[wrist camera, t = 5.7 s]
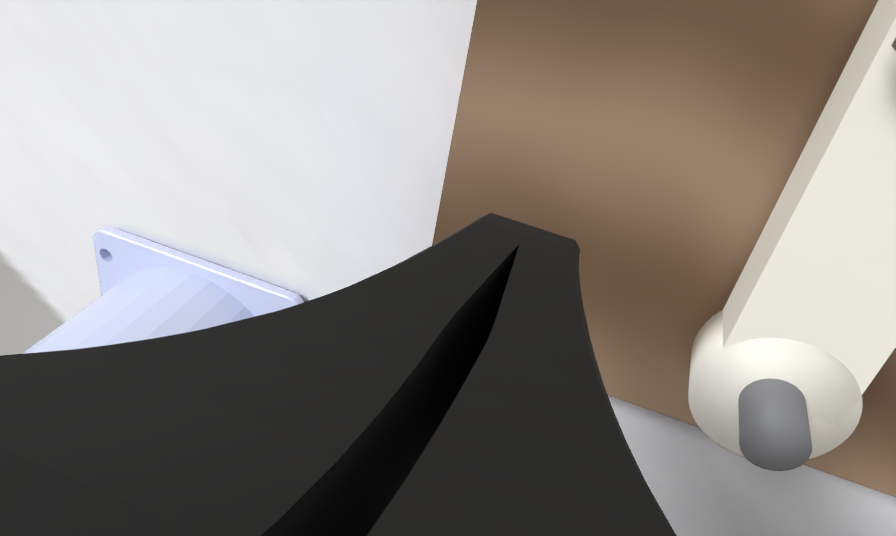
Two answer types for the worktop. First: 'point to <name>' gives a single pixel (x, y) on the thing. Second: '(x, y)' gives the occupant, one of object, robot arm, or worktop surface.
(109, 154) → the worktop surface
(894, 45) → the keeper
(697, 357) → the swing link
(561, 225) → the pivot board
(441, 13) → the worktop surface
